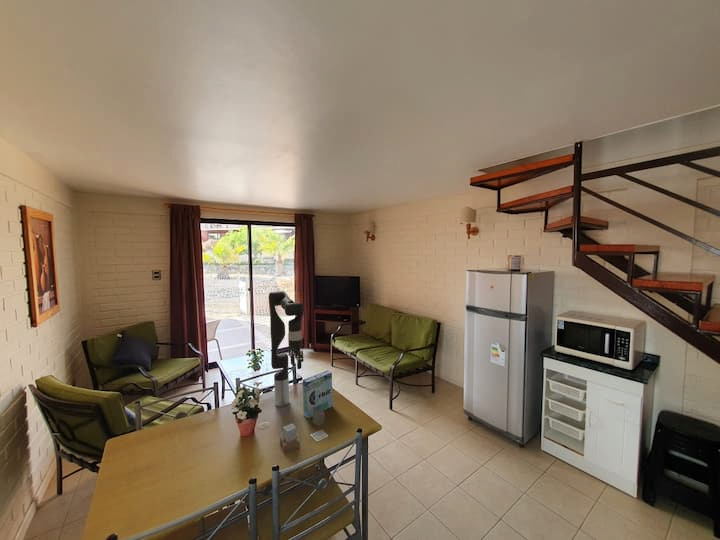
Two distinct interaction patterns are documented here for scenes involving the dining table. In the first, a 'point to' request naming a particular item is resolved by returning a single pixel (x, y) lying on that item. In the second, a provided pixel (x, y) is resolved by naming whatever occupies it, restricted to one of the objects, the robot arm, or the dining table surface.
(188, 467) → the dining table surface
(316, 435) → the swatch
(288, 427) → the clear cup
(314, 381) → the gum box
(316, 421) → the translucent grey cup
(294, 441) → the walnut block
